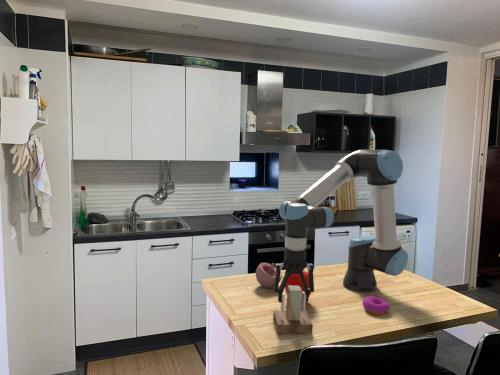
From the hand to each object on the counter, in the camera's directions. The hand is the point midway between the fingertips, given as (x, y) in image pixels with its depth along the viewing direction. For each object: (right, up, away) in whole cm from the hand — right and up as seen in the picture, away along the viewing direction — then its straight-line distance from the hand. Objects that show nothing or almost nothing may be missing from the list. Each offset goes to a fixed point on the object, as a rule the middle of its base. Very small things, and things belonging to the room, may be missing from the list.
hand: (292, 310), depth 136 cm
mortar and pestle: (-7, -2, +38) cm, 39 cm away
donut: (+35, -6, +17) cm, 39 cm away
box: (0, -3, 0) cm, 3 cm away
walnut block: (0, -6, +1) cm, 7 cm away
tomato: (+5, -4, +22) cm, 23 cm away
